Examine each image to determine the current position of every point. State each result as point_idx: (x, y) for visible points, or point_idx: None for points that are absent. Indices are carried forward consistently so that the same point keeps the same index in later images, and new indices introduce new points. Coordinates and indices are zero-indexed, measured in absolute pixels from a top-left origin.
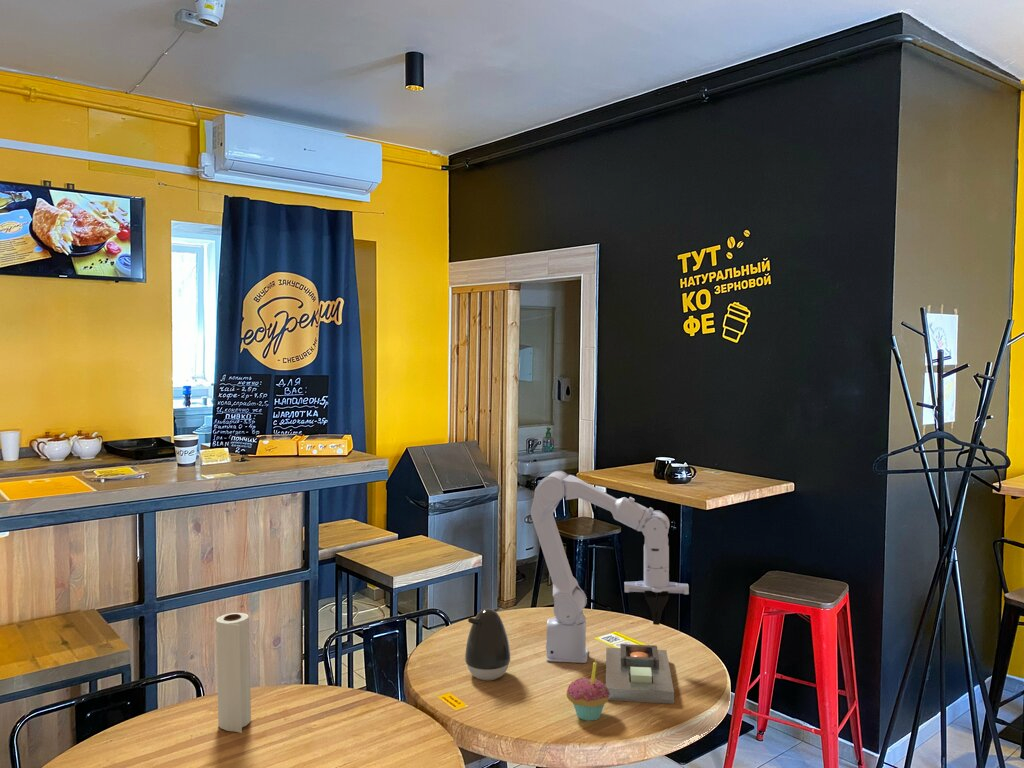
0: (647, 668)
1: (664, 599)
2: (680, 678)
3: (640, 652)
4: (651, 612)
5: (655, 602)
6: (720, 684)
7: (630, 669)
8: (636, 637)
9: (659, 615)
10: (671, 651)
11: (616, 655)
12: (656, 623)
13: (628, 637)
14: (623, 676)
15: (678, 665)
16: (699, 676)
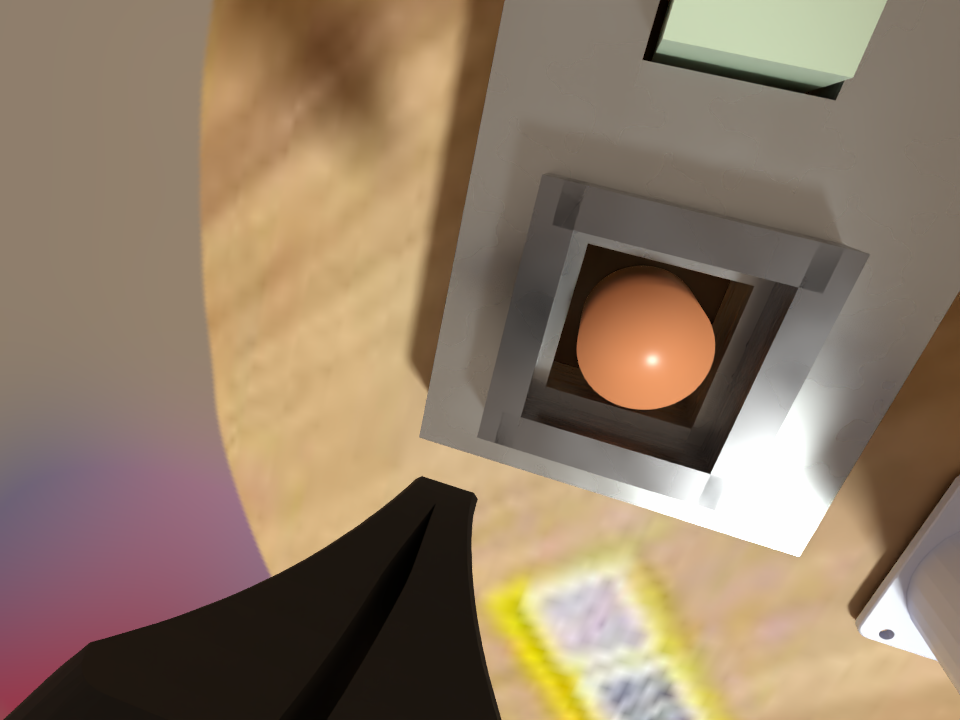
0: (701, 20)
1: (120, 680)
2: (421, 161)
3: (616, 393)
4: (472, 587)
5: (353, 694)
6: (212, 46)
7: (867, 35)
8: (509, 677)
9: (379, 529)
10: (383, 503)
11: (785, 428)
12: (444, 489)
13: (548, 688)
14: (935, 7)
15: (389, 339)
16: (307, 177)
